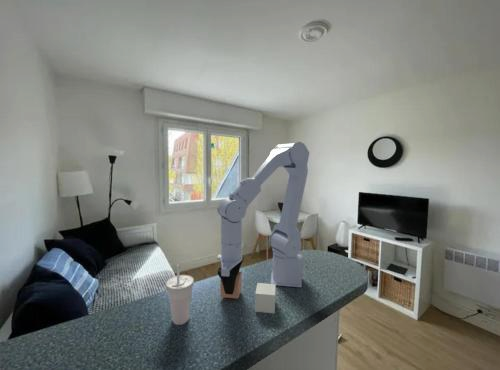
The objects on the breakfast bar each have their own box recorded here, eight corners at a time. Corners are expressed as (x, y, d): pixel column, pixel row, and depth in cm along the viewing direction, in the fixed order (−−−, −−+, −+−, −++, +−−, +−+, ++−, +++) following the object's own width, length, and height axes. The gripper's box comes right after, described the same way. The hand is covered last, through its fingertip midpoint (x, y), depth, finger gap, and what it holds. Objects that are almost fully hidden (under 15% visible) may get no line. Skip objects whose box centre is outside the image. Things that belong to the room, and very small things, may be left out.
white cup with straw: (160, 322, 52) (159, 266, 51) (180, 307, 58) (179, 256, 56) (180, 333, 49) (179, 273, 48) (200, 315, 55) (199, 261, 53)
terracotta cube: (241, 288, 65) (241, 272, 64) (238, 298, 60) (238, 281, 60) (224, 286, 66) (224, 270, 65) (220, 296, 61) (220, 279, 60)
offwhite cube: (275, 301, 61) (275, 284, 60) (274, 313, 56) (275, 295, 55) (257, 299, 61) (257, 282, 61) (255, 311, 57) (255, 293, 56)
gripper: (223, 232, 69) (223, 273, 70) (209, 251, 55) (209, 302, 56) (246, 233, 68) (245, 275, 69) (237, 252, 54) (237, 304, 55)
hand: (231, 287), depth 63 cm, fingers closed on terracotta cube, 5 cm apart
